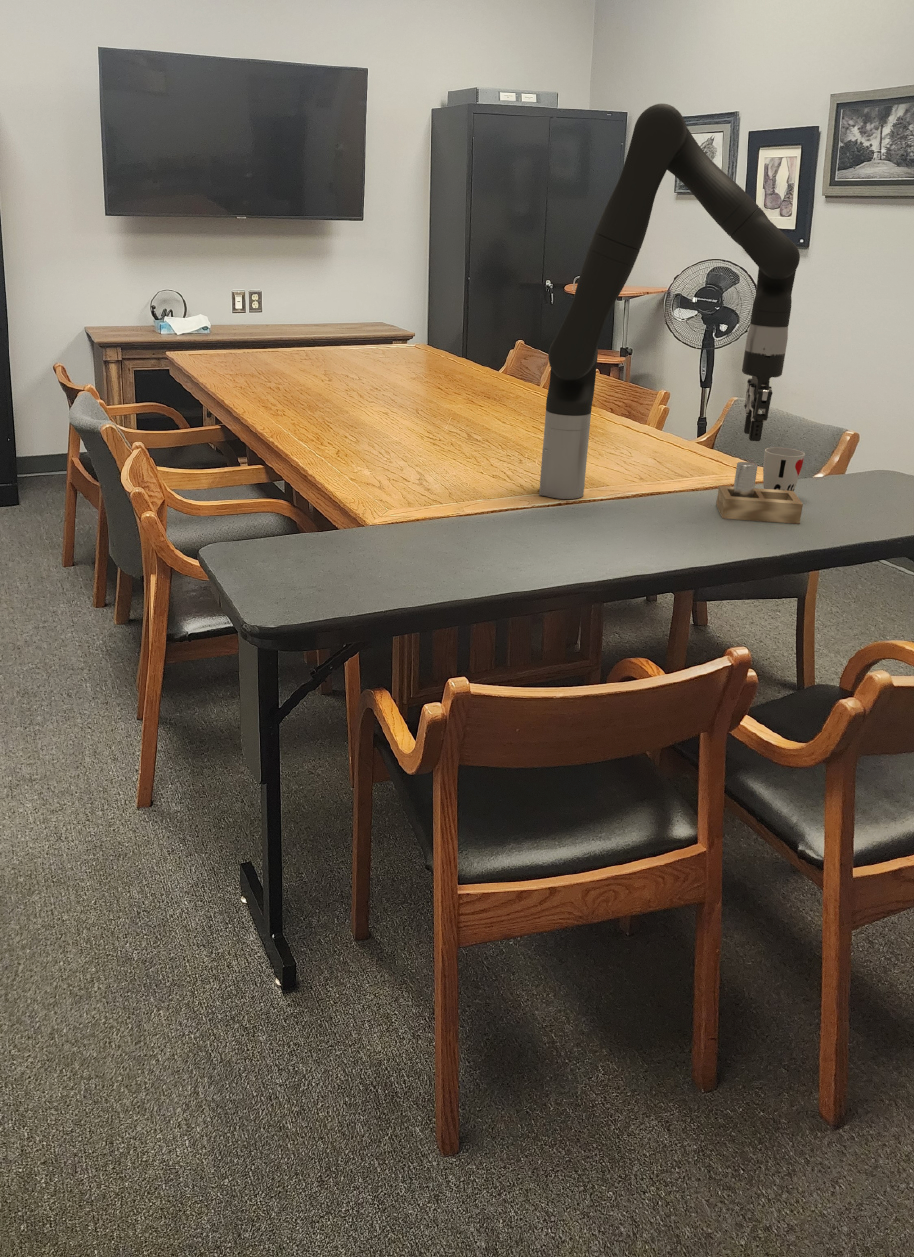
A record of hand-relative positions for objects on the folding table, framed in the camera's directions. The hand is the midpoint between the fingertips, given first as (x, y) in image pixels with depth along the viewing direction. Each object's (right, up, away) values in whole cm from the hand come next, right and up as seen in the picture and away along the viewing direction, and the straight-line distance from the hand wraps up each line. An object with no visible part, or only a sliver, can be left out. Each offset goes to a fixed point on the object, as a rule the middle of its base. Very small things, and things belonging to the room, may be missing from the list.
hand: (751, 436), depth 208 cm
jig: (+3, -15, +6) cm, 16 cm away
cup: (+10, -10, +18) cm, 23 cm away
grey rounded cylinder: (-1, -14, +6) cm, 16 cm away
